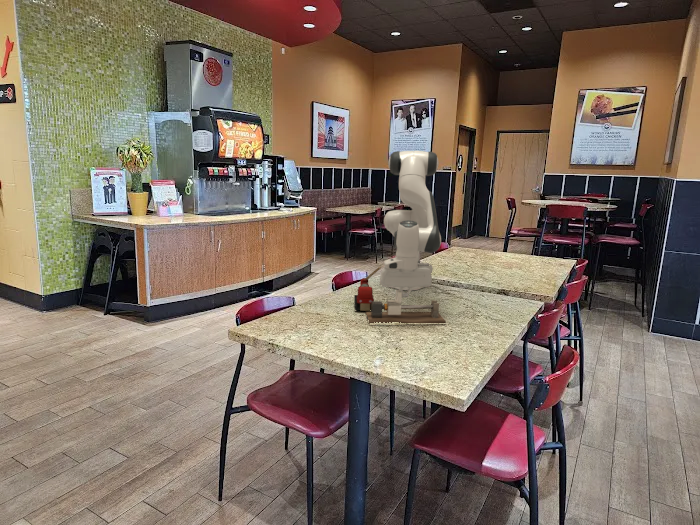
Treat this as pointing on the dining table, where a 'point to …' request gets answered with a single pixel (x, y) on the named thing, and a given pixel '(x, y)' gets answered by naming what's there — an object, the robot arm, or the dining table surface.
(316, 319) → the dining table surface
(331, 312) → the dining table surface
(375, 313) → the rod
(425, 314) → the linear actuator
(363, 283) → the toy fire truck
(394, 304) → the sleeve
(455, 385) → the dining table surface
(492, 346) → the dining table surface
